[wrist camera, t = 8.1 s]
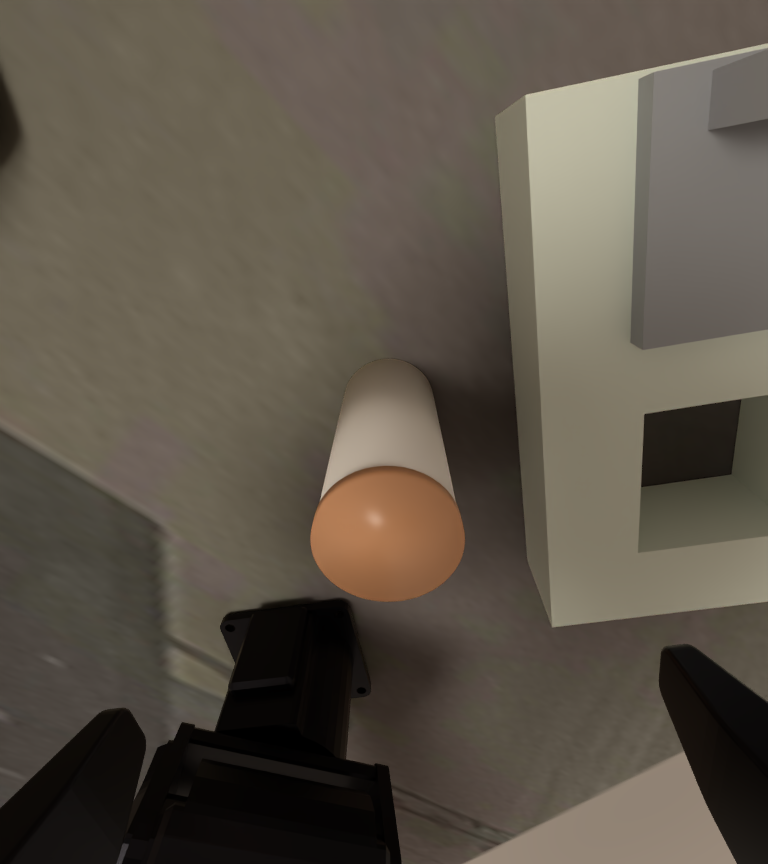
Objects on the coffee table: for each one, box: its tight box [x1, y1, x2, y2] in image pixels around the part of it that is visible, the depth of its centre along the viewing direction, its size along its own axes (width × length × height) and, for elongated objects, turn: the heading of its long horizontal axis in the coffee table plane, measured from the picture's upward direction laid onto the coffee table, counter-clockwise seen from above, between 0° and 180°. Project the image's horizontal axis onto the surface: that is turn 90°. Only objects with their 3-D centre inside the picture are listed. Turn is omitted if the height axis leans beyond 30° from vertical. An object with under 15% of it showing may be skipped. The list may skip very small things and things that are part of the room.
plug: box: [310, 359, 465, 602], centre depth 16 cm, size 4×4×9 cm
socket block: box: [495, 44, 768, 627], centre depth 17 cm, size 18×12×4 cm, turn 10°
